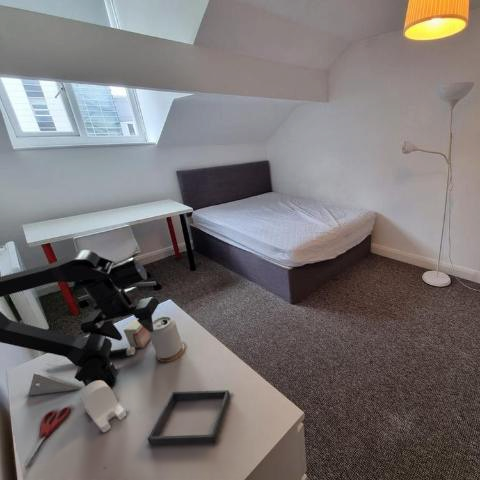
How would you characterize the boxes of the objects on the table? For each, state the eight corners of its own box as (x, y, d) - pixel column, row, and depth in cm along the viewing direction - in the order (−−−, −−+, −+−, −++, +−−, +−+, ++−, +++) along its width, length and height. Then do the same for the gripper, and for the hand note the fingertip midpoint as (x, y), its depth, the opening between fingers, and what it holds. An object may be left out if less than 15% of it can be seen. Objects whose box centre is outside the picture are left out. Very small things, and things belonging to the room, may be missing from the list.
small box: (143, 348, 90) (135, 329, 87) (130, 348, 90) (122, 330, 87) (151, 336, 95) (145, 319, 92) (139, 337, 95) (132, 319, 92)
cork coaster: (156, 365, 84) (155, 364, 83) (159, 347, 90) (158, 346, 90) (184, 356, 86) (183, 355, 86) (185, 340, 93) (184, 338, 93)
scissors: (46, 411, 70) (48, 414, 70) (7, 471, 58) (10, 473, 58) (71, 405, 71) (72, 407, 72) (38, 461, 59) (40, 464, 60)
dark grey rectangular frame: (150, 445, 62) (147, 439, 61) (174, 398, 73) (172, 391, 72) (215, 443, 62) (213, 437, 61) (230, 396, 73) (228, 390, 72)
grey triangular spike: (93, 372, 82) (48, 367, 81) (81, 378, 77) (33, 373, 76) (88, 392, 81) (43, 388, 80) (76, 399, 76) (27, 395, 75)
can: (186, 350, 88) (177, 322, 83) (161, 364, 83) (150, 334, 78) (178, 339, 93) (169, 311, 88) (154, 351, 88) (143, 322, 83)
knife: (130, 359, 86) (137, 348, 90) (128, 353, 85) (135, 342, 89) (39, 374, 82) (51, 361, 87) (35, 368, 81) (48, 355, 86)
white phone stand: (109, 396, 74) (96, 370, 70) (127, 414, 69) (113, 388, 65) (87, 412, 70) (71, 386, 66) (103, 433, 65) (87, 406, 61)
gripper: (153, 269, 78) (177, 308, 86) (89, 285, 78) (119, 323, 85) (135, 292, 69) (164, 335, 76) (62, 311, 68) (98, 352, 75)
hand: (136, 335), depth 78 cm, fingers open, 9 cm apart
